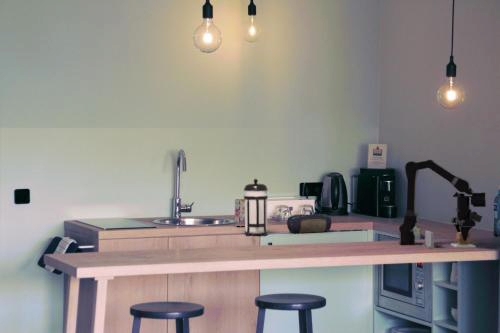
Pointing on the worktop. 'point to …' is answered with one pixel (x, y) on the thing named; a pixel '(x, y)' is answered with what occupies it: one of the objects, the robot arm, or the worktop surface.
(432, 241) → the screen
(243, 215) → the candy bar box
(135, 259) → the worktop surface
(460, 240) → the letter cube
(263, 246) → the worktop surface
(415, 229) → the beverage carton
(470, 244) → the coaster
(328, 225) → the portable speaker
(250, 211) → the coffee press
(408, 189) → the robot arm
